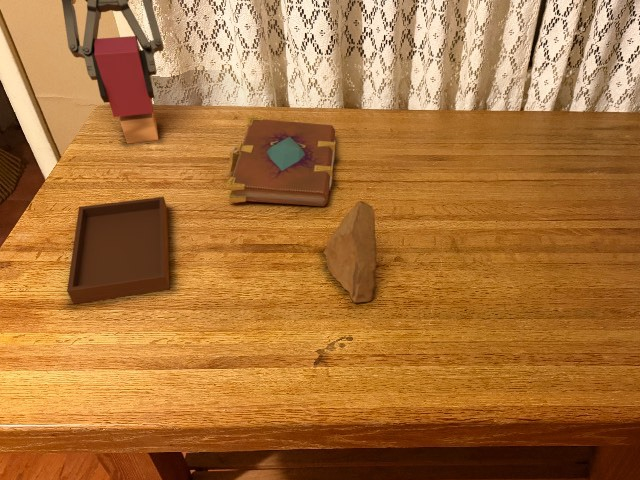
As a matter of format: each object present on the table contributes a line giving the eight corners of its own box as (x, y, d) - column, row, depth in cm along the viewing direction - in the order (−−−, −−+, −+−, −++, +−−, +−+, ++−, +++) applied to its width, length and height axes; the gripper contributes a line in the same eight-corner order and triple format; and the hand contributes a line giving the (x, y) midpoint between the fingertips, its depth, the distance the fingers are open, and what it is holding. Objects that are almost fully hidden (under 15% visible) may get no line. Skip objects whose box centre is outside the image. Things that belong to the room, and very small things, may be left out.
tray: (84, 219, 83) (78, 206, 82) (167, 209, 86) (163, 196, 84) (73, 304, 72) (66, 290, 70) (169, 289, 74) (165, 276, 73)
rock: (393, 298, 72) (404, 239, 78) (349, 256, 67) (365, 196, 73) (327, 320, 78) (342, 263, 84) (282, 282, 72) (302, 224, 78)
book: (338, 131, 106) (338, 105, 102) (329, 214, 88) (330, 186, 85) (245, 123, 104) (243, 96, 101) (217, 206, 87) (213, 178, 83)
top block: (113, 117, 94) (94, 54, 87) (113, 100, 98) (94, 38, 91) (153, 113, 95) (137, 51, 88) (151, 96, 99) (136, 35, 92)
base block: (126, 143, 98) (120, 121, 95) (126, 129, 101) (119, 107, 98) (158, 139, 99) (152, 117, 96) (156, 125, 102) (151, 103, 100)
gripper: (19, -65, 85) (54, 94, 85) (158, -69, 90) (190, 82, 91) (36, -36, 92) (68, 111, 93) (164, -40, 97) (193, 99, 98)
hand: (128, 96), depth 92 cm, fingers closed on top block, 6 cm apart
